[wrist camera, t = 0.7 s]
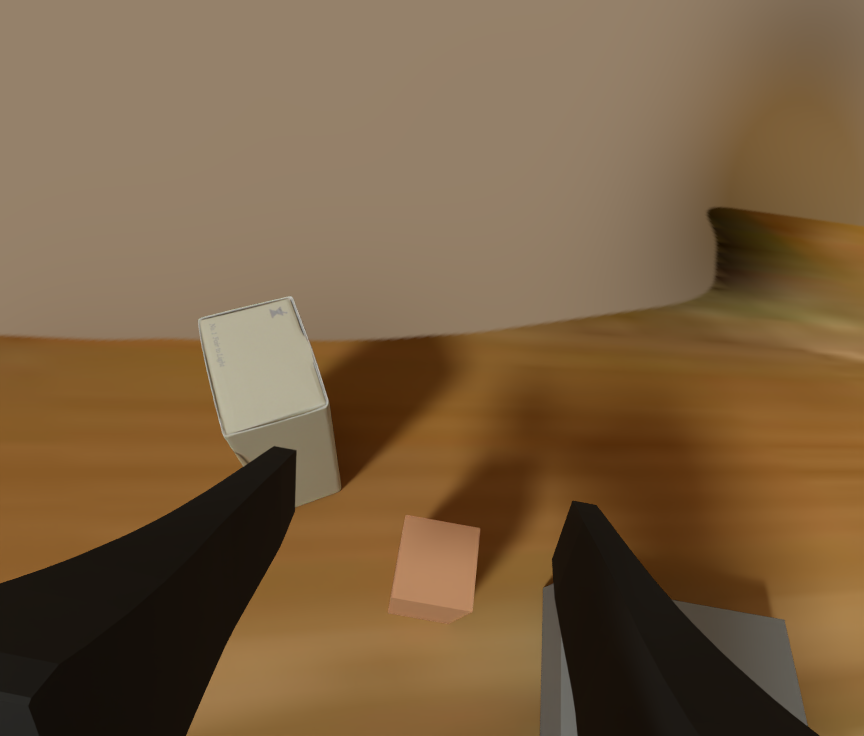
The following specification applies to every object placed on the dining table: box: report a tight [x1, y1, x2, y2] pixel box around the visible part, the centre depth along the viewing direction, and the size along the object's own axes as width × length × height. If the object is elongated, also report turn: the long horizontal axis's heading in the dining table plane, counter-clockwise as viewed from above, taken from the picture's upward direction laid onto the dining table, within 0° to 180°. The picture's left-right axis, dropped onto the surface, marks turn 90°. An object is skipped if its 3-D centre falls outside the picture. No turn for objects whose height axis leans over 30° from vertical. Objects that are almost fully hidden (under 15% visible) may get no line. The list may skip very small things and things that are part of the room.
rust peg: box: [388, 515, 480, 624], centre depth 24 cm, size 3×3×8 cm
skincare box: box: [198, 296, 341, 507], centre depth 25 cm, size 6×4×12 cm
